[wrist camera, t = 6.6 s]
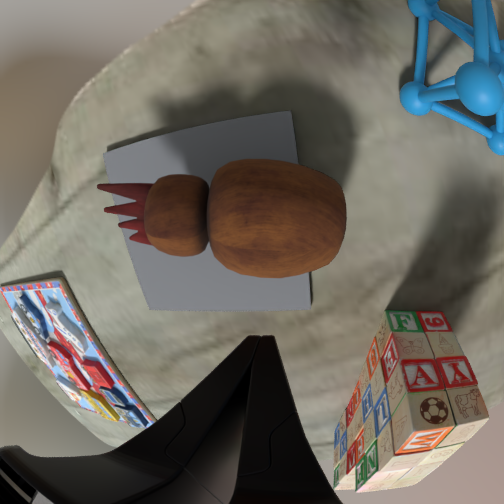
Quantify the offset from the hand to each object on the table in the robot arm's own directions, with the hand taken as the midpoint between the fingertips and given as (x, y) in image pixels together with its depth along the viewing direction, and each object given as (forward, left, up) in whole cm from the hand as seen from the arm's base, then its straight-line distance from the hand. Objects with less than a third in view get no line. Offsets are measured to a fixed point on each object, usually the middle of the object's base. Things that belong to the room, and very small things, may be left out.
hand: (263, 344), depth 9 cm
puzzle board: (+36, +20, -13) cm, 43 cm away
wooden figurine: (-3, 0, -10) cm, 10 cm away
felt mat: (+6, 0, -12) cm, 14 cm away
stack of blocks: (-9, +19, -13) cm, 25 cm away
